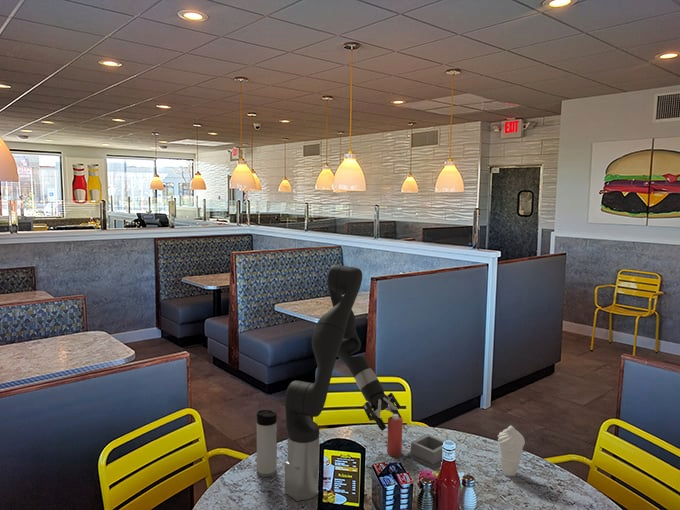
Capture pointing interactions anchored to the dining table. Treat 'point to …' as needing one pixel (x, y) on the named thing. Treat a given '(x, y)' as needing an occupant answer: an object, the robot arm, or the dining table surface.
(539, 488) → the dining table surface
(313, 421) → the robot arm
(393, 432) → the squeeze bottle
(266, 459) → the travel mug
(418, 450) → the box
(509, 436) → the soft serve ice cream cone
